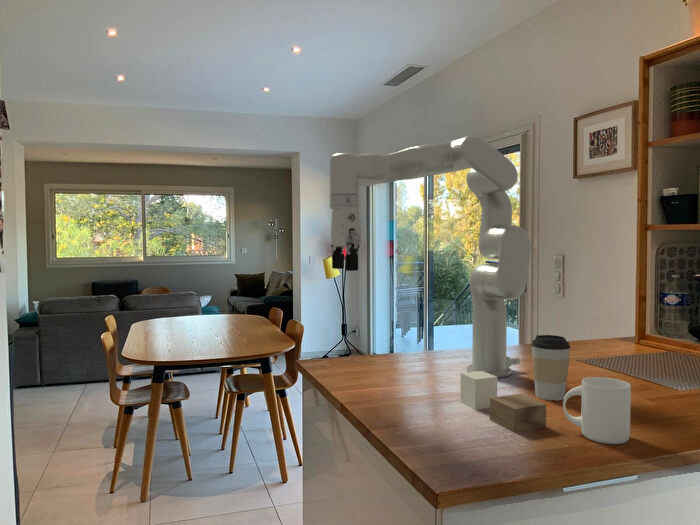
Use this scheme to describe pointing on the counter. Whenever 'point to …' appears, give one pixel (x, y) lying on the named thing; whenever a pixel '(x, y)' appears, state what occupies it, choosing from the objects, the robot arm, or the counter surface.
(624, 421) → the mug
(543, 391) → the coffee cup
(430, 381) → the counter surface
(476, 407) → the cream block
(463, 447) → the counter surface
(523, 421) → the walnut block
